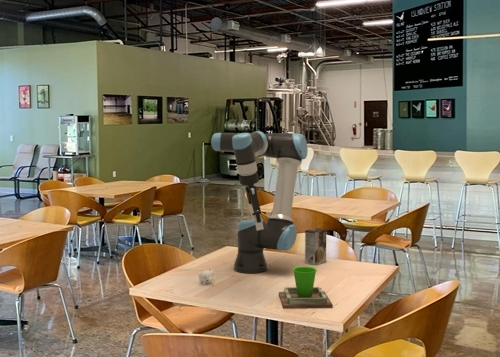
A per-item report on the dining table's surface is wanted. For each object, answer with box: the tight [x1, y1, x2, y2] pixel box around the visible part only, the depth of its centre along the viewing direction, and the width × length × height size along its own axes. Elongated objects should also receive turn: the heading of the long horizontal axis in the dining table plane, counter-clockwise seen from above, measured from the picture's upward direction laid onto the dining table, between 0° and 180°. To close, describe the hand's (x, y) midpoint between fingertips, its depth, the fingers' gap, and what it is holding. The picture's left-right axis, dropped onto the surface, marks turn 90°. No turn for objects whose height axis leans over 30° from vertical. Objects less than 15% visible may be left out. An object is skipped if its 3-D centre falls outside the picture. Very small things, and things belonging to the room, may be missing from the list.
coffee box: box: [304, 227, 327, 266], centre depth 267 cm, size 9×6×16 cm
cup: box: [292, 265, 318, 298], centre depth 208 cm, size 9×9×11 cm
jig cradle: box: [278, 286, 334, 309], centre depth 209 cm, size 16×18×3 cm
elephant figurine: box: [198, 268, 214, 285], centre depth 231 cm, size 7×8×6 cm
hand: (257, 224), depth 220 cm, fingers open, 13 cm apart
